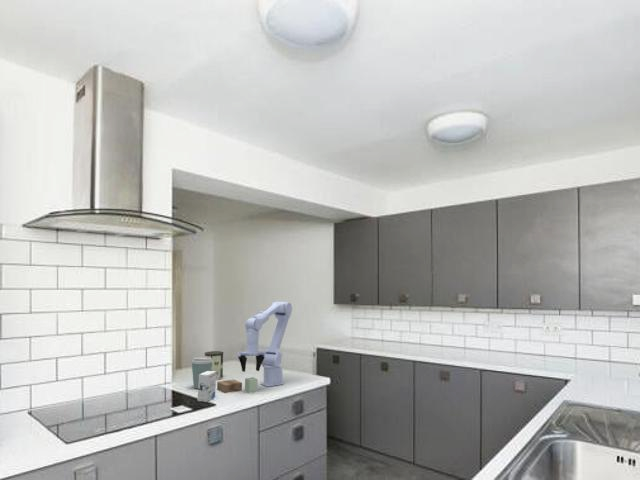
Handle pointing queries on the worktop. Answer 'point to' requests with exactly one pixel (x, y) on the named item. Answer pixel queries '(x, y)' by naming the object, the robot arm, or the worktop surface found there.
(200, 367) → the disposable coffee cup
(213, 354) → the coffee can
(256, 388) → the green block
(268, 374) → the robot arm
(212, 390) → the ink box
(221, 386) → the walnut base
